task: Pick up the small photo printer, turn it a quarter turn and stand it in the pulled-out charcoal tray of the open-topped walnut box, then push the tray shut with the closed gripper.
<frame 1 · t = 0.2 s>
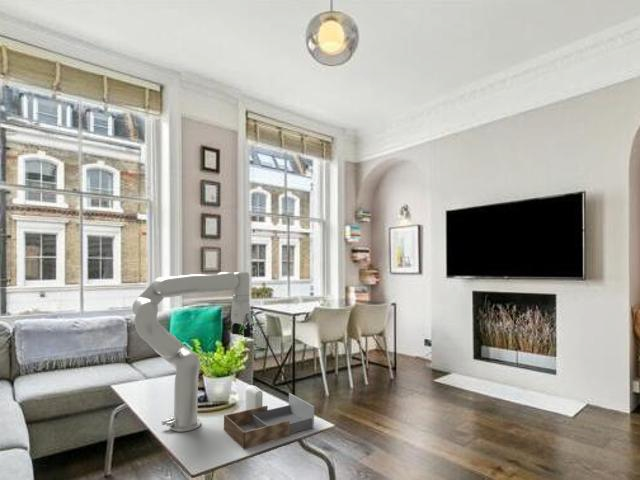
hand: (241, 335, 187), 36 cm above the table, fingers open, 9 cm apart
walnut housing: (256, 432, 166), on the table
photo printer: (253, 414, 186), on the table
sliding tray: (281, 414, 173), point 5 cm above the table, slide at 11.0 cm
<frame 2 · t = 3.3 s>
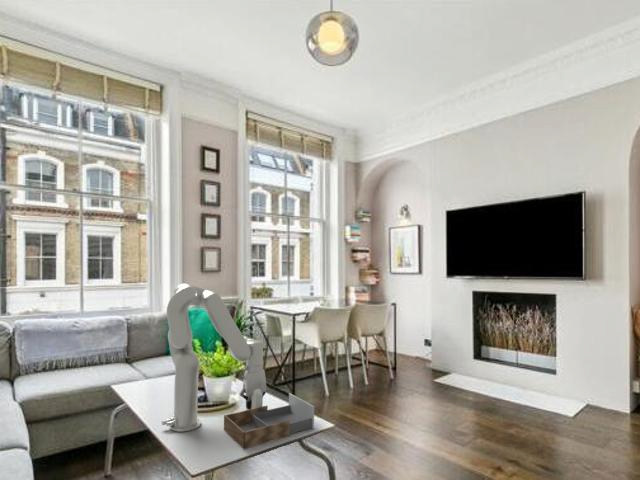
hand: (253, 407, 186), 3 cm above the table, fingers closed on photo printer, 4 cm apart
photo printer: (253, 414, 186), on the table, touching gripper
everything else where it was.
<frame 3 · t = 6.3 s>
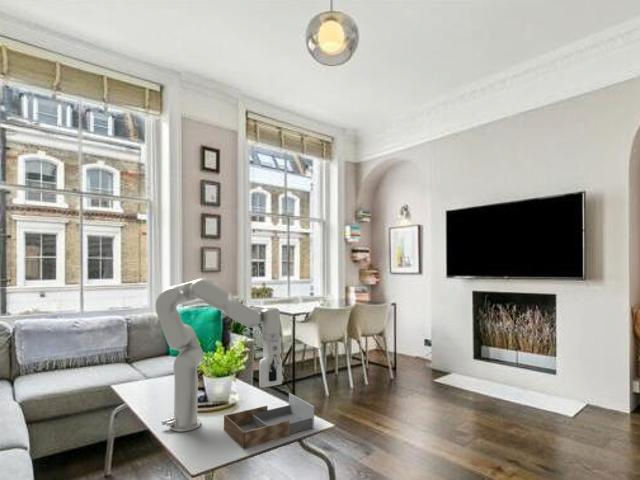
hand: (270, 378, 175), 20 cm above the table, fingers closed on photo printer, 4 cm apart
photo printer: (270, 385, 175), point 17 cm above the table, touching gripper
everything else where it was.
when the fingers open (5 cm above the table, at t = 9.6 s): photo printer drops 1 cm, resting on sliding tray.
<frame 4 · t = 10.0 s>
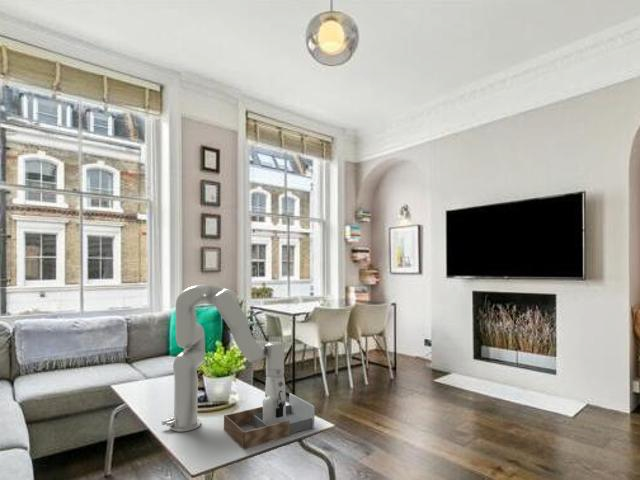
hand: (274, 413, 171), 6 cm above the table, fingers open, 8 cm apart
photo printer: (274, 425, 171), point 1 cm above the table, touching sliding tray
sliding tray: (282, 414, 173), point 5 cm above the table, slide at 11.2 cm, touching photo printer
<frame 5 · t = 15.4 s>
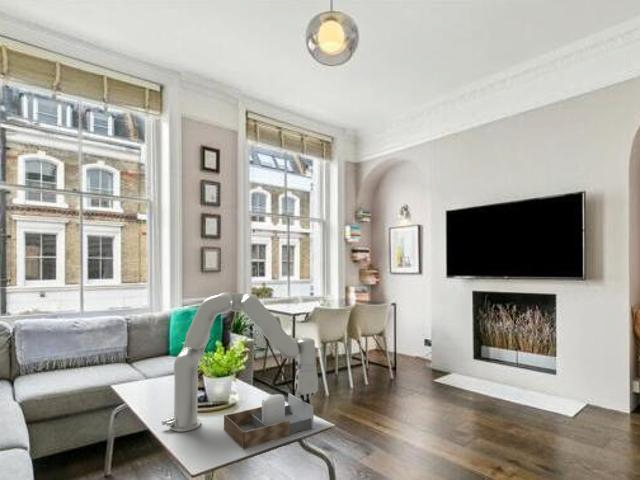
hand: (305, 408, 180), 5 cm above the table, fingers closed
sliding tray: (281, 414, 173), point 5 cm above the table, slide at 10.7 cm, touching gripper, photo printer
everything else where it was.
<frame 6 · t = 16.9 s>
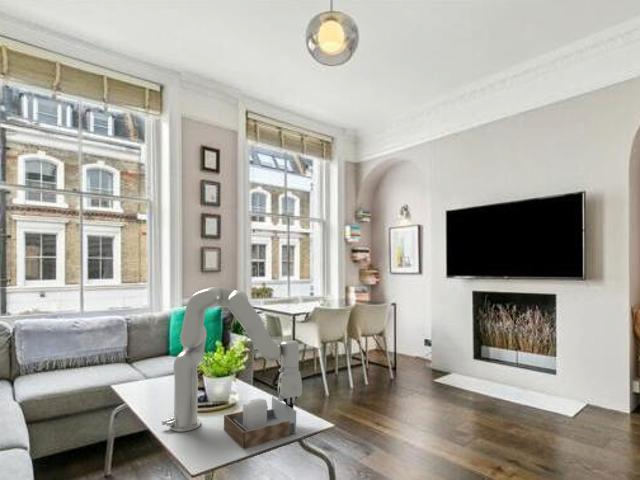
hand: (289, 412, 175), 5 cm above the table, fingers closed
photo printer: (254, 430, 166), point 1 cm above the table, touching sliding tray
sliding tray: (263, 419, 168), point 5 cm above the table, slide at 2.1 cm, touching gripper, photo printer
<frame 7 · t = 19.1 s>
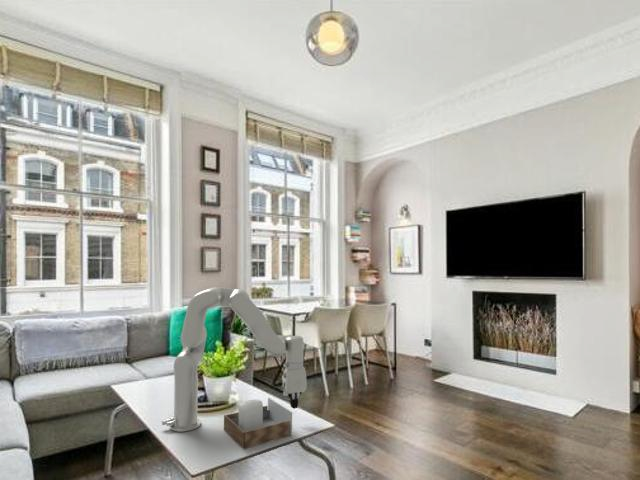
hand: (294, 407, 176), 7 cm above the table, fingers closed
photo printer: (250, 431, 164), point 1 cm above the table, touching sliding tray
sliding tray: (258, 420, 167), point 5 cm above the table, slide at 0.2 cm, touching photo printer
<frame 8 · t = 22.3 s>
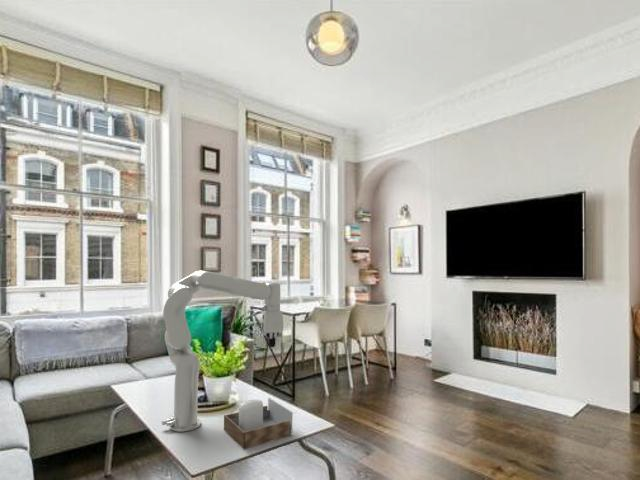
hand: (271, 346, 194), 29 cm above the table, fingers closed
nothing on the table moved.
at the end: sliding tray slide at 0.3 cm; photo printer inside the target area (2.4 cm from its centre), point 1.1 cm above the table; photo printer tilted 0° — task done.
